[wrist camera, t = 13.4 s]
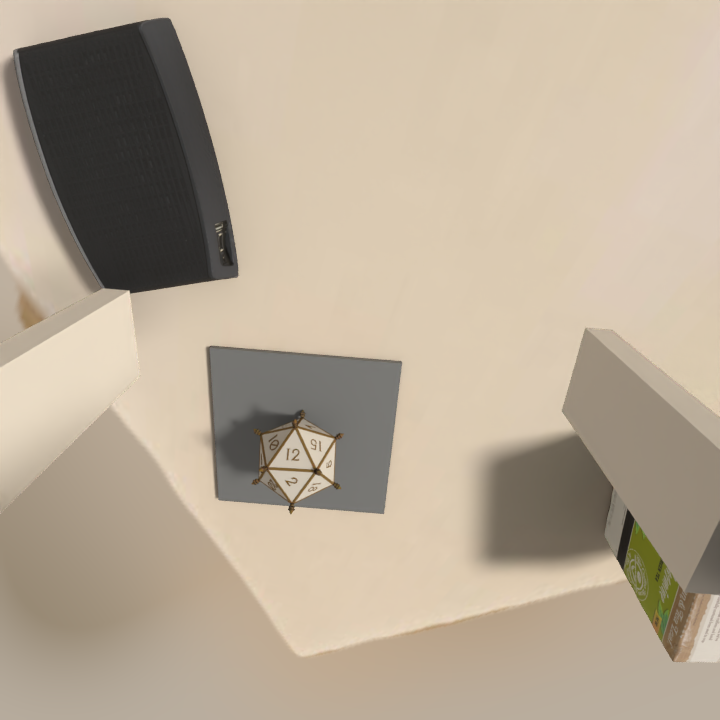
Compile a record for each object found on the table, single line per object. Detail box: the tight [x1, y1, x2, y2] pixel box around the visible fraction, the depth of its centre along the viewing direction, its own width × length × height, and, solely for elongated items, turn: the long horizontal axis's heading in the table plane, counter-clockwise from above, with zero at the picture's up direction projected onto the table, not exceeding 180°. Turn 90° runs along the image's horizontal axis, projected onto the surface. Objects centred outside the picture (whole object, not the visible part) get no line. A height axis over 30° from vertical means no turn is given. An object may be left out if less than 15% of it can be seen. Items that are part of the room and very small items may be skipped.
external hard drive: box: [13, 18, 238, 293], centre depth 38 cm, size 13×19×4 cm
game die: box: [252, 410, 344, 514], centre depth 45 cm, size 9×8×10 cm
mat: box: [210, 346, 402, 514], centre depth 49 cm, size 18×18×1 cm
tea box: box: [604, 488, 720, 662], centre depth 44 cm, size 15×10×15 cm, turn 4°
